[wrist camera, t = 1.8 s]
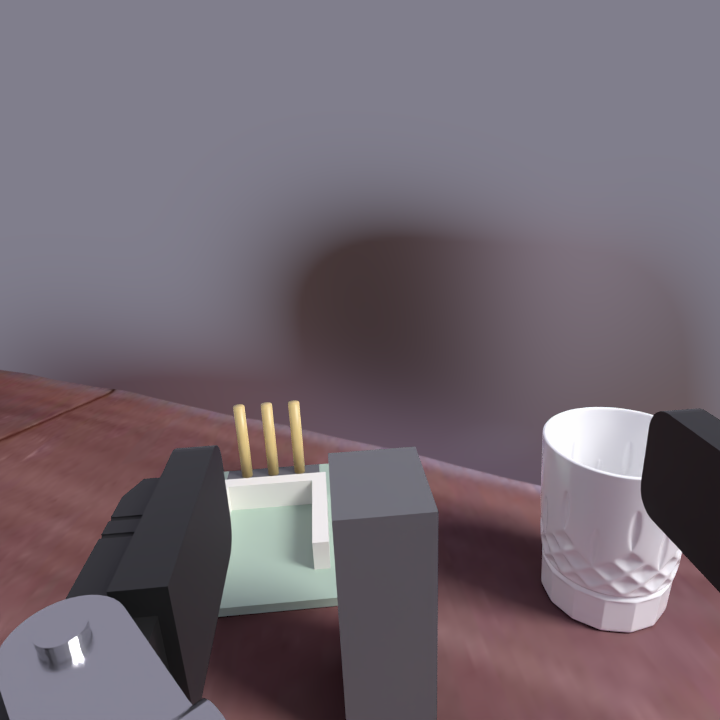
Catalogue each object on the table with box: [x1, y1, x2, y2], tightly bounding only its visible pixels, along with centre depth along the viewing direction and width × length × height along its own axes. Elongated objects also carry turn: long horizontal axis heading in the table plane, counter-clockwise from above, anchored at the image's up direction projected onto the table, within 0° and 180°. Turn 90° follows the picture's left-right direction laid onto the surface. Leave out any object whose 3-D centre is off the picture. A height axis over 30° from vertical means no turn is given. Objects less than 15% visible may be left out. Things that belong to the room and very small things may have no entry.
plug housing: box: [328, 447, 438, 720], centre depth 25 cm, size 5×4×12 cm
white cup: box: [541, 407, 682, 633], centre depth 32 cm, size 8×8×10 cm
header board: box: [218, 400, 338, 617], centre depth 38 cm, size 15×11×8 cm
